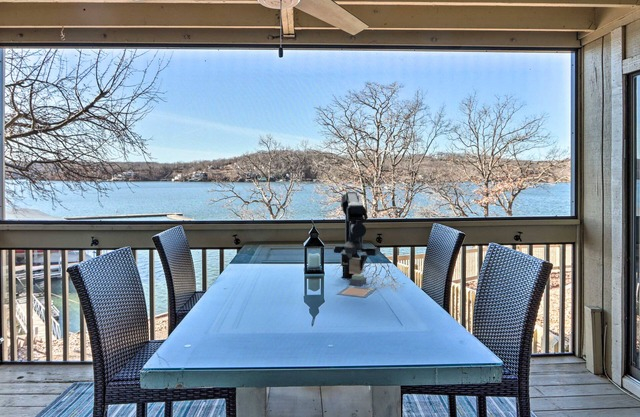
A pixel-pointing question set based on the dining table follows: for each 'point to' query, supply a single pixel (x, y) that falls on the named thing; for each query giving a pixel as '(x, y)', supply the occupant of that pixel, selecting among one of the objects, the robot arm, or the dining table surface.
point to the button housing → (358, 281)
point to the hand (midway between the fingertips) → (356, 269)
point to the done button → (358, 276)
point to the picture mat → (356, 291)
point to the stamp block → (355, 266)
